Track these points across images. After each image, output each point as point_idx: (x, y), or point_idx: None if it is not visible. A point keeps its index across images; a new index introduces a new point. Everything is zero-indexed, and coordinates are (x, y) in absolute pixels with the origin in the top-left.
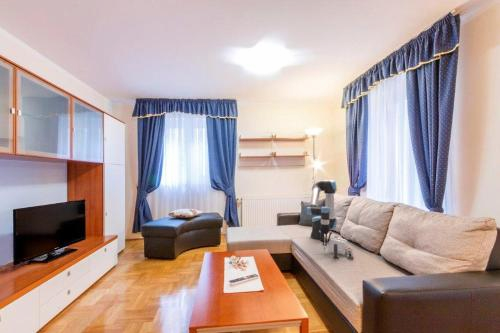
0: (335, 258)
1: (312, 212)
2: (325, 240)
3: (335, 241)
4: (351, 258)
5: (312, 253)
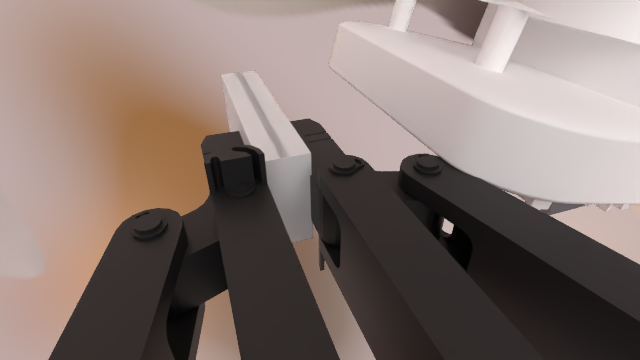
0: None
1: None
2: (347, 294)
3: (628, 206)
4: None
5: (35, 246)
